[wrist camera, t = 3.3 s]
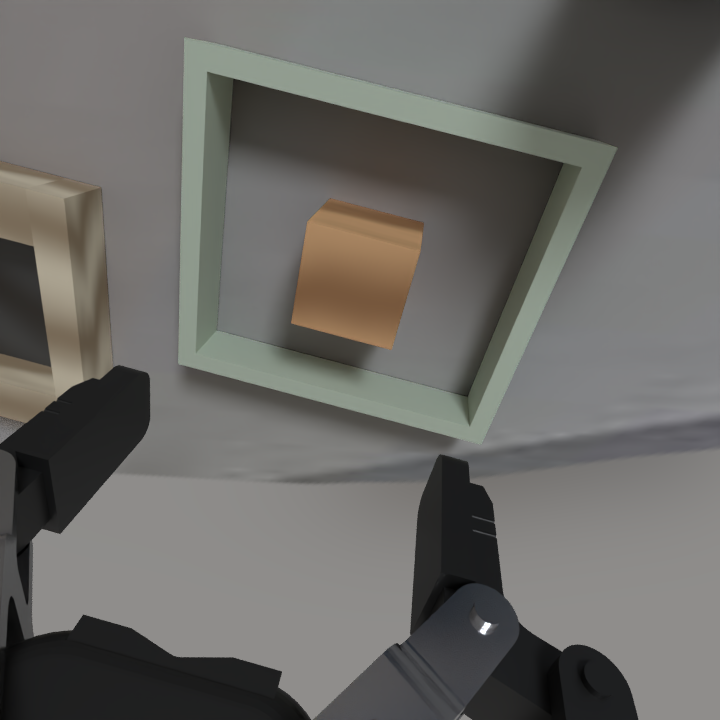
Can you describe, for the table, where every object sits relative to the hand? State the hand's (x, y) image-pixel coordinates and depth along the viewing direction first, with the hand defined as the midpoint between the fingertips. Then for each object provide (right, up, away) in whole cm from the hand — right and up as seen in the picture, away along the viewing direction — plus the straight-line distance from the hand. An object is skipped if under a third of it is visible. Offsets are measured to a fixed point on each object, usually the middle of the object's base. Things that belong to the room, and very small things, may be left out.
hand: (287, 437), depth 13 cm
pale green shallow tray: (+2, +8, +13) cm, 15 cm away
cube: (+2, +8, +13) cm, 15 cm away
